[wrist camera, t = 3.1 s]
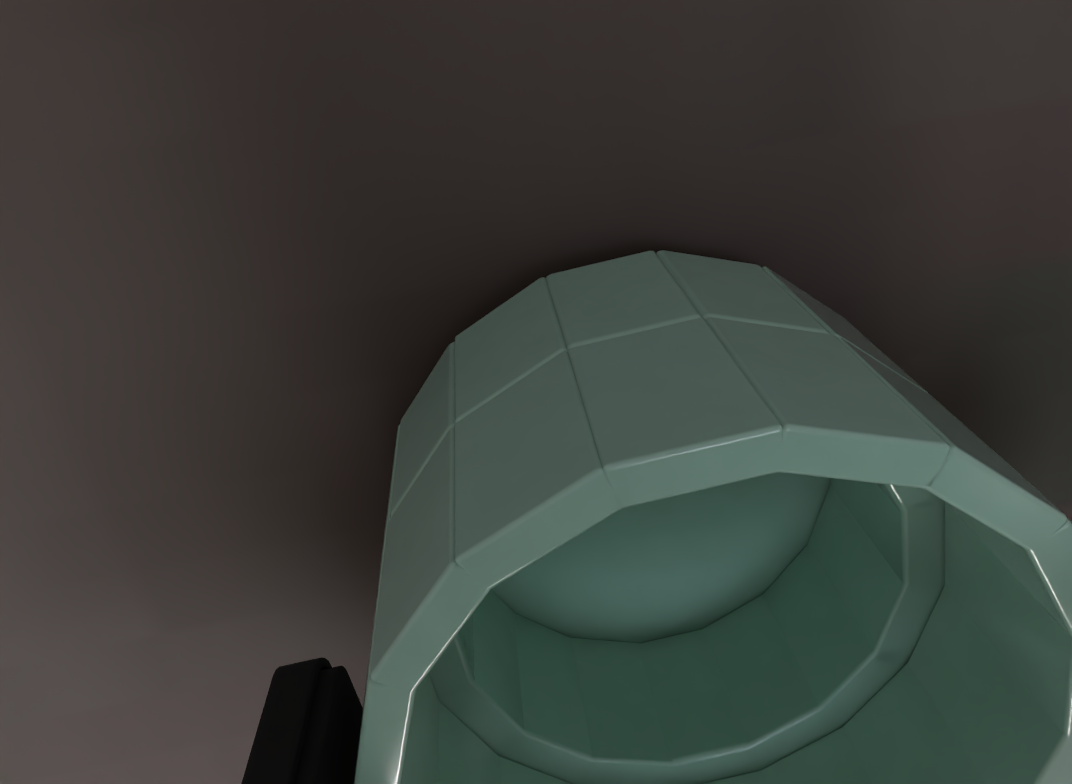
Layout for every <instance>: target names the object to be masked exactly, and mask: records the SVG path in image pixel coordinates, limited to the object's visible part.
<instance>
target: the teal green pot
mask: <svg viewBox="0 0 1072 784" xmlns="http://www.w3.org/2000/svg"><path fill="white" fill-rule="evenodd" d="M354 784H1072V522H1071V521H1070V520H1069V519H1068V518H1067V517H1066V516H1065V514H1064V513H1063V512H1062V511H1061V510H1059V509H1058V508H1057V507H1056V506H1055V505H1054V504H1053V503H1052V502H1050V501H1049V500H1048V499H1047V498H1046V497H1045V496H1044V495H1043V494H1041V493H1040V492H1039V491H1038V490H1037V489H1036V488H1035V487H1034V486H1032V485H1031V484H1030V483H1029V482H1028V481H1027V480H1026V479H1025V478H1023V477H1022V476H1021V475H1020V474H1019V473H1018V472H1017V471H1016V470H1014V469H1013V468H1012V467H1011V466H1010V465H1009V464H1008V463H1007V462H1005V461H1004V460H1003V459H1002V458H1001V457H1000V456H999V455H998V454H996V453H995V452H994V451H993V450H992V449H991V448H990V447H989V446H987V445H986V444H985V443H984V442H983V441H982V440H981V439H980V438H978V437H977V436H976V435H975V434H974V433H973V432H972V431H971V430H969V429H968V428H967V427H966V426H965V425H964V424H963V423H962V422H960V421H959V420H958V419H957V418H956V417H955V416H954V415H953V414H951V413H950V412H949V411H948V410H947V409H946V408H945V407H944V406H942V405H941V404H940V403H939V402H938V401H937V400H936V399H935V398H933V397H932V396H931V395H929V394H928V393H927V391H925V390H924V389H923V388H922V387H921V386H920V385H919V384H918V383H916V382H915V381H914V380H913V379H912V378H911V377H910V376H909V375H907V374H906V373H905V372H904V371H903V370H902V369H901V368H900V367H898V366H897V365H896V364H895V363H894V362H893V361H892V360H891V359H889V358H888V357H887V356H886V355H885V354H884V353H883V352H882V351H880V350H879V349H878V348H877V347H876V346H875V345H874V344H873V343H871V342H870V341H869V340H868V339H867V338H866V337H865V336H864V335H862V334H861V333H860V332H859V331H858V330H857V329H856V328H855V327H853V326H852V325H851V324H850V323H849V322H848V321H847V320H846V319H844V318H843V317H842V316H840V315H839V314H837V313H836V312H834V311H833V310H831V309H830V308H828V307H827V306H825V305H824V304H822V303H821V302H819V301H818V300H816V299H815V298H813V297H812V296H810V295H809V294H807V293H806V292H804V291H802V290H801V289H799V288H798V287H796V286H795V285H793V284H792V283H790V282H789V281H787V280H786V279H784V278H783V277H781V276H780V275H778V274H777V273H775V272H774V271H772V270H771V269H769V268H768V267H761V266H759V265H756V264H749V263H743V262H736V261H730V260H723V259H717V258H710V257H704V256H697V255H691V254H684V253H678V252H671V251H665V250H662V251H657V253H656V252H655V251H646V252H642V253H638V254H633V255H629V256H625V257H621V258H617V259H612V260H608V261H604V262H600V263H595V264H591V265H587V266H583V267H579V268H574V269H570V270H566V271H562V272H557V273H553V274H550V275H548V276H547V277H546V278H544V277H542V278H539V279H538V280H536V281H535V282H533V283H532V284H531V285H529V286H528V287H526V288H525V289H523V290H522V291H520V292H519V293H518V294H516V295H515V296H513V297H512V298H510V299H509V300H507V301H506V302H505V303H503V304H502V305H500V306H499V307H497V308H496V309H494V310H493V311H492V312H490V313H489V314H487V315H486V316H484V317H483V318H482V319H480V320H479V321H477V322H476V323H474V324H473V325H471V326H470V327H469V328H467V329H466V330H464V331H463V332H461V333H460V334H458V335H457V336H456V337H455V339H454V342H452V343H451V344H449V345H448V347H447V348H446V350H445V352H444V353H443V355H442V356H441V358H440V359H439V361H438V363H437V364H436V366H435V367H434V369H433V370H432V372H431V374H430V375H429V377H428V378H427V380H426V381H425V383H424V385H423V386H422V388H421V389H420V391H419V392H418V394H417V396H416V397H415V399H414V400H413V402H412V403H411V405H410V407H409V408H408V410H407V411H406V413H405V414H404V416H403V418H402V419H401V423H400V425H399V426H398V428H397V435H396V443H395V451H394V459H393V467H392V475H391V483H390V491H389V499H388V506H387V515H386V523H385V531H384V539H383V548H382V556H381V564H380V572H379V580H378V589H377V597H376V605H375V613H374V621H373V629H372V637H371V646H370V654H369V662H368V670H367V678H366V687H365V695H364V703H363V711H362V720H361V728H360V736H359V744H358V752H357V761H356V769H355V777H354Z"/></svg>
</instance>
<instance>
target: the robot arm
mask: <svg viewBox="0 0 1072 784" xmlns="http://www.w3.org/2000/svg"><path fill="white" fill-rule="evenodd" d="M362 711H363V708H362V706H361V703H360V701H359V699H358V696H357V694H356V691H355V689H354V687H353V684H352V682H351V679H350V677H349V675H348V673H347V671H346V669H345V668H344V667H343V666H338V667H333V668H332V666H331V664H330V663H329V661H328V660H327V659H326V658H317V659H313V660H308V661H304V662H299V663H294V664H290V665H285V666H281V667H279V668H277V669H276V670H275V673H274V675H273V678H272V681H271V684H270V688H269V691H268V695H267V698H266V702H265V705H264V708H263V712H262V715H261V719H260V722H259V726H258V729H257V732H256V736H255V739H254V743H253V746H252V750H251V753H250V756H249V760H248V763H247V767H246V770H245V774H244V777H243V780H242V784H354V777H355V769H356V761H357V752H358V744H359V736H360V728H361V720H362Z"/></svg>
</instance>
